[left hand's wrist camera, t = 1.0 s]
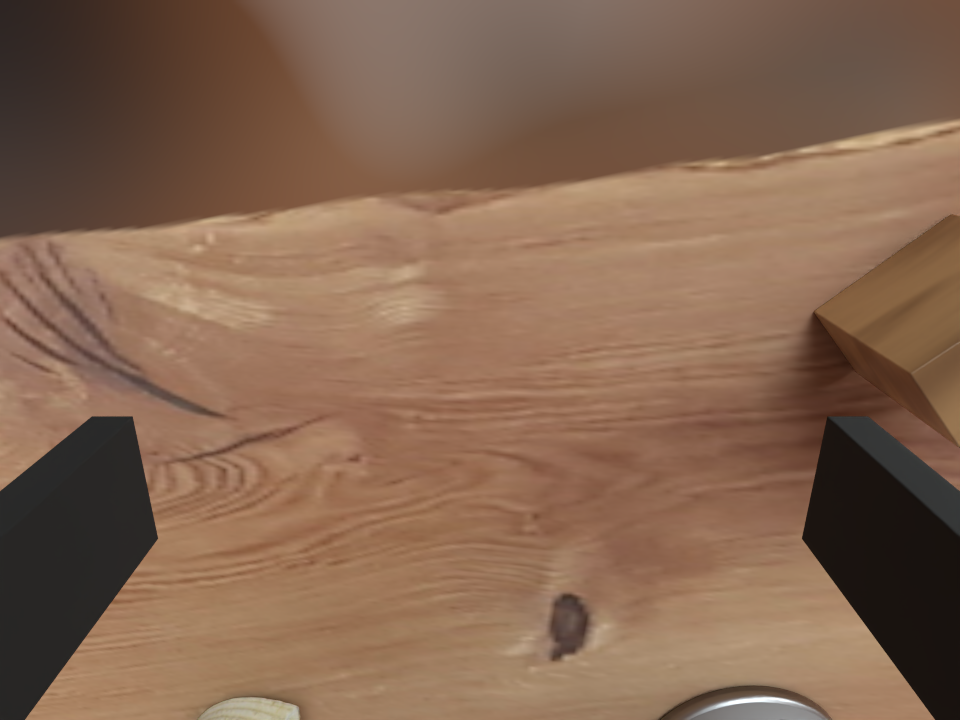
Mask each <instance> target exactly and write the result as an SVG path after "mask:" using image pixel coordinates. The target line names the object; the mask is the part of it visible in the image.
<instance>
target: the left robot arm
mask: <svg viewBox="0 0 960 720" xmlns="http://www.w3.org/2000/svg"><path fill="white" fill-rule="evenodd" d="M157 539H158V536H157V531H156V527H155V522H154V517H153V512H152V507H151V503H150V498H149V493H148V488H147V483H146V479H145V474H144V469H143V464H142V459H141V455H140V450H139V445H138V440H137V435H136V431H135V426H134V421H133V417H91V418H90V419H88V420H87V421H86V422H85V423H84V424H82V425H81V426H80V427H79V428H77V429H76V430H75V431H74V432H72V433H71V434H70V435H69V436H68V437H66V438H65V439H64V440H63V441H61V442H60V443H59V444H58V445H57V446H55V447H54V448H53V449H52V450H50V451H49V452H48V453H47V454H45V455H44V456H43V457H42V458H41V459H39V460H38V461H37V462H36V463H34V464H33V465H32V466H31V467H29V468H28V469H27V470H26V471H25V472H23V473H22V474H21V475H20V476H18V477H17V478H16V479H15V480H14V481H12V482H11V483H10V484H9V485H7V486H6V487H5V488H4V489H2V490H1V491H0V720H25V719H26V717H27V716H28V715H29V713H30V712H31V711H32V709H33V708H34V707H35V705H36V704H37V702H38V701H39V700H40V698H41V697H42V696H43V694H44V693H45V692H46V690H47V689H48V687H49V686H50V685H51V683H52V682H53V681H54V679H55V678H56V677H57V675H58V674H59V673H60V671H61V670H62V668H63V667H64V666H65V664H66V663H67V662H68V660H69V659H70V658H71V656H72V655H73V653H74V652H75V651H76V649H77V648H78V647H79V645H80V644H81V643H82V641H83V640H84V639H85V637H86V636H87V634H88V633H89V632H90V630H91V629H92V628H93V626H94V625H95V624H96V622H97V621H98V619H99V618H100V617H101V615H102V614H103V613H104V611H105V610H106V609H107V607H108V606H109V605H110V603H111V602H112V600H113V599H114V598H115V596H116V595H117V594H118V592H119V591H120V590H121V588H122V587H123V585H124V584H125V583H126V581H127V580H128V579H129V577H130V576H131V575H132V573H133V572H134V571H135V569H136V568H137V566H138V565H139V564H140V562H141V561H142V560H143V558H144V557H145V556H146V554H147V553H148V551H149V550H150V549H151V547H152V546H153V545H154V543H155V542H156V541H157ZM802 539H803V541H804V542H805V543H806V545H807V546H808V547H809V549H810V550H811V551H812V553H813V554H814V556H815V557H816V558H817V560H818V561H819V562H820V564H821V565H822V566H823V568H824V569H825V571H826V572H827V573H828V575H829V576H830V577H831V579H832V580H833V581H834V583H835V584H836V585H837V587H838V588H839V590H840V591H841V592H842V594H843V595H844V596H845V598H846V599H847V600H848V602H849V603H850V605H851V606H852V607H853V609H854V610H855V611H856V613H857V614H858V615H859V617H860V618H861V619H862V621H863V622H864V624H865V625H866V626H867V628H868V629H869V630H870V632H871V633H872V634H873V636H874V637H875V639H876V640H877V641H878V643H879V644H880V645H881V647H882V648H883V649H884V651H885V652H886V653H887V655H888V656H889V658H890V659H891V660H892V662H893V663H894V664H895V666H896V667H897V668H898V670H899V671H900V673H901V674H902V675H903V677H904V678H905V679H906V681H907V682H908V683H909V685H910V686H911V687H912V689H913V690H914V692H915V693H916V694H917V696H918V697H919V698H920V700H921V701H922V702H923V704H924V705H925V707H926V708H927V709H928V711H929V712H930V713H931V715H932V716H933V717H934V719H935V720H960V491H959V490H958V489H956V488H955V487H954V486H953V485H951V484H950V483H949V482H948V481H946V480H945V479H944V478H943V477H942V476H940V475H939V474H938V473H937V472H935V471H934V470H933V469H932V468H931V467H929V466H928V465H927V464H926V463H924V462H923V461H922V460H921V459H919V458H918V457H917V456H916V455H915V454H913V453H912V452H911V451H910V450H908V449H907V448H906V447H905V446H903V445H902V444H901V443H900V442H899V441H897V440H896V439H895V438H894V437H892V436H891V435H890V434H889V433H888V432H886V431H885V430H884V429H883V428H881V427H880V426H879V425H878V424H876V423H875V422H874V421H873V420H872V419H870V418H869V417H827V421H826V426H825V431H824V435H823V440H822V445H821V450H820V455H819V459H818V464H817V469H816V474H815V479H814V483H813V488H812V493H811V498H810V503H809V507H808V512H807V517H806V522H805V527H804V531H803V536H802ZM661 720H832V719H831V717H830V716H829V715H828V714H827V713H826V711H824V710H823V709H822V708H821V707H820V706H819V705H817V704H816V703H815V702H813V701H811V700H810V699H808V698H806V697H804V696H802V695H799V694H797V693H794V692H791V691H788V690H784V689H780V688H774V687H766V686H741V687H732V688H726V689H721V690H717V691H713V692H710V693H706V694H704V695H701V696H698V697H696V698H694V699H691V700H689V701H687V702H685V703H683V704H682V705H680V706H678V707H677V708H675V709H674V710H672V711H671V712H669V713H668V714H667V715H665V716H664V717H663V718H662V719H661Z"/></svg>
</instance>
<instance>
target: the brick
mask: <svg viewBox="0 0 960 720" xmlns="http://www.w3.org/2000/svg"><path fill="white" fill-rule="evenodd" d="M814 313H815V314H816V316H817V317H818V319H819V320H820V322H821V323H822V324H823V326H824V327H825V329H826V330H827V332H828V333H829V334H830V336H831V337H832V339H833V340H834V341H835V343H836V344H837V346H838V347H839V349H840V350H841V351H842V353H843V354H844V356H845V357H846V359H847V360H848V361H849V363H850V364H851V366H852V367H853V369H854V370H855V371H856V372H857V373H858V374H859V375H861V376H862V377H864V378H865V379H866V380H868V381H869V382H870V383H872V384H873V385H874V386H876V387H877V388H879V389H880V390H881V391H883V392H884V393H885V394H887V395H888V396H889V397H891V398H892V399H893V400H895V401H896V402H898V403H899V404H900V405H902V406H903V407H904V408H906V409H907V410H908V411H910V412H911V413H912V414H914V415H915V416H917V417H918V418H919V419H921V420H922V421H923V422H925V423H926V424H927V425H929V426H930V427H931V428H933V429H934V430H936V431H937V432H938V433H940V434H941V435H942V436H944V437H945V438H946V439H948V440H949V441H950V442H952V443H953V444H955V445H956V446H957V447H959V448H960V216H957V215H953V214H952V215H950V216H948V217H947V218H945V219H944V220H943V221H941V222H940V223H938V224H937V225H935V226H934V227H933V228H931V229H930V230H928V231H927V232H926V233H924V234H923V235H921V236H920V237H918V238H917V239H916V240H914V241H913V242H911V243H910V244H909V245H907V246H906V247H904V248H903V249H902V250H900V251H899V252H897V253H896V254H894V255H893V256H892V257H890V258H889V259H887V260H886V261H885V262H883V263H882V264H880V265H879V266H877V267H876V268H875V269H873V270H872V271H870V272H869V273H868V274H866V275H865V276H863V277H862V278H860V279H859V280H858V281H856V282H855V283H853V284H852V285H851V286H849V287H848V288H846V289H845V290H843V291H842V292H841V293H839V294H838V295H836V296H835V297H834V298H832V299H831V300H829V301H828V302H826V303H825V304H824V305H822V306H821V307H819V308H818V309H817V310H815V311H814Z"/></svg>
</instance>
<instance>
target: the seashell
mask: <svg viewBox="0 0 960 720" xmlns="http://www.w3.org/2000/svg"><path fill="white" fill-rule="evenodd" d="M197 720H300V711H299V707H298V706H296V705H293V704H290V703H284V702H282V701H278V700H272V699H266V698H258V697H240V698H232V699H229V700H225V701H222V702H220V703H218V704H215V705H214V706H212V707H210V708H209V709H207V710H206V711H205V712H204V713H203V714H202V715H201V716H200V717H199V718H198V719H197Z"/></svg>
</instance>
